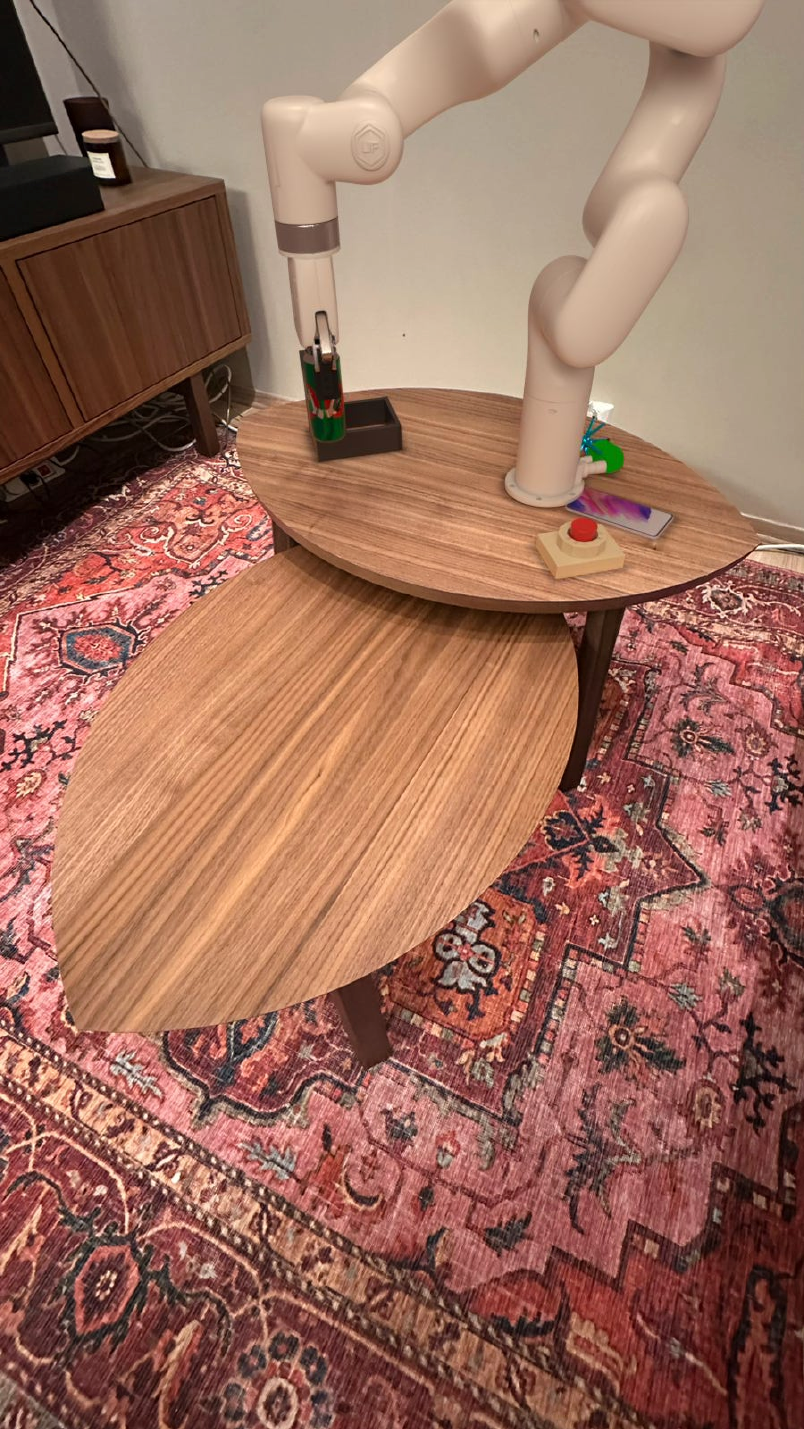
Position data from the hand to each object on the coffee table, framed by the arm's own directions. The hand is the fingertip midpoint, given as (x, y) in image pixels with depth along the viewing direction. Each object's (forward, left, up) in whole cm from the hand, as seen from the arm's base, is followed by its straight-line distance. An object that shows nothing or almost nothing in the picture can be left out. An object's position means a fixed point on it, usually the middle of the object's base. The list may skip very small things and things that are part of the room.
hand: (324, 388), depth 95 cm
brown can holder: (-6, -20, -18) cm, 28 cm away
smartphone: (-41, +14, -19) cm, 47 cm away
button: (-31, +23, -14) cm, 41 cm away
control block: (-31, +23, -18) cm, 43 cm away
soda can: (0, 0, -7) cm, 7 cm away
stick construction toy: (-44, -2, -18) cm, 48 cm away
